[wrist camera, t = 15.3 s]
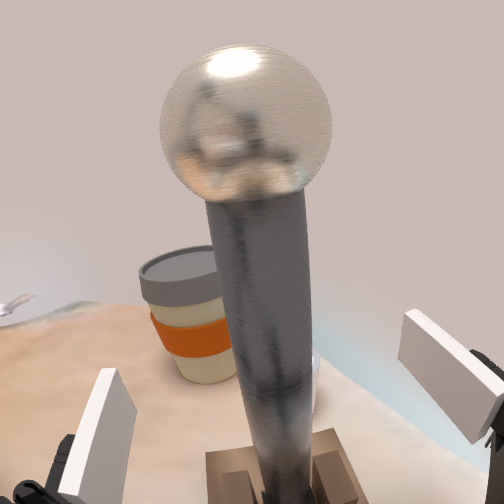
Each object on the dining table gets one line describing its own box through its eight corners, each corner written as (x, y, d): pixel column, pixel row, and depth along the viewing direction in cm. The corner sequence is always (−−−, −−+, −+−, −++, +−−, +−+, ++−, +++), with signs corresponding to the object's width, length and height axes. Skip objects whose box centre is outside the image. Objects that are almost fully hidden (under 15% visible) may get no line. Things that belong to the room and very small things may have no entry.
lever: (265, 541, 12) (134, 34, 4) (256, 496, 16) (163, 78, 8) (325, 528, 13) (348, 20, 4) (311, 485, 17) (294, 64, 8)
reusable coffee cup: (158, 354, 43) (131, 261, 38) (233, 329, 48) (217, 238, 43) (182, 406, 32) (144, 293, 27) (274, 369, 37) (260, 259, 33)
